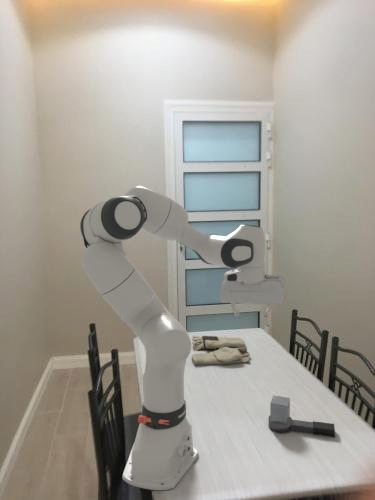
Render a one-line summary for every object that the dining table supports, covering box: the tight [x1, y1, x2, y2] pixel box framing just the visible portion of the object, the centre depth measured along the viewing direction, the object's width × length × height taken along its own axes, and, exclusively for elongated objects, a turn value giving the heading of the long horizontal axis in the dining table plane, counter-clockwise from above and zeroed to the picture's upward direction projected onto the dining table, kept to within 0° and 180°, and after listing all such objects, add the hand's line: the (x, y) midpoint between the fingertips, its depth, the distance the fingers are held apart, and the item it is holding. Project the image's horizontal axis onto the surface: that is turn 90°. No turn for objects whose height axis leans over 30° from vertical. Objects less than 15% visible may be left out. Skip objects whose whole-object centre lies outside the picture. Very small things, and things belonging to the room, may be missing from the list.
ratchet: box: [268, 415, 336, 438], centre depth 121 cm, size 7×19×6 cm, turn 74°
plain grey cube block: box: [269, 395, 291, 425], centre depth 122 cm, size 5×5×6 cm
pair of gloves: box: [191, 335, 251, 366], centre depth 183 cm, size 30×26×5 cm
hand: (251, 316), depth 131 cm, fingers open, 8 cm apart
